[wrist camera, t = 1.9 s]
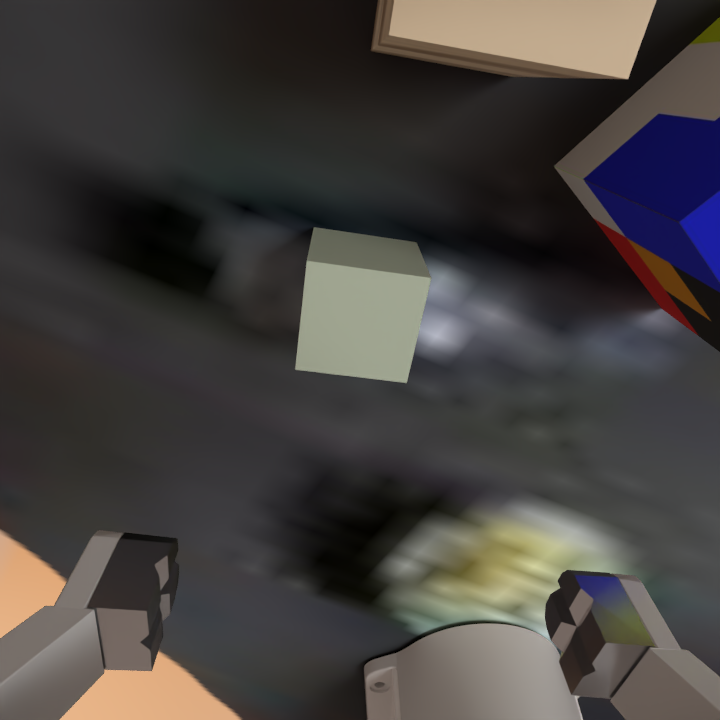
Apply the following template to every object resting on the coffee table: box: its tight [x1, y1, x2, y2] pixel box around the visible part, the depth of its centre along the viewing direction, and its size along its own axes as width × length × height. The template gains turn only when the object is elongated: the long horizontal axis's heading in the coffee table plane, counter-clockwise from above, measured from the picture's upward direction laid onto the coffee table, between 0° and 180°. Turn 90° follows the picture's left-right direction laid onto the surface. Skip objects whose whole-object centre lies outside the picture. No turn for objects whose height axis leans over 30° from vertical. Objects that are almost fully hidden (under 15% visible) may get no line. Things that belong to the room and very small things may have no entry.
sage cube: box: [295, 227, 431, 383], centre depth 23 cm, size 5×5×5 cm
